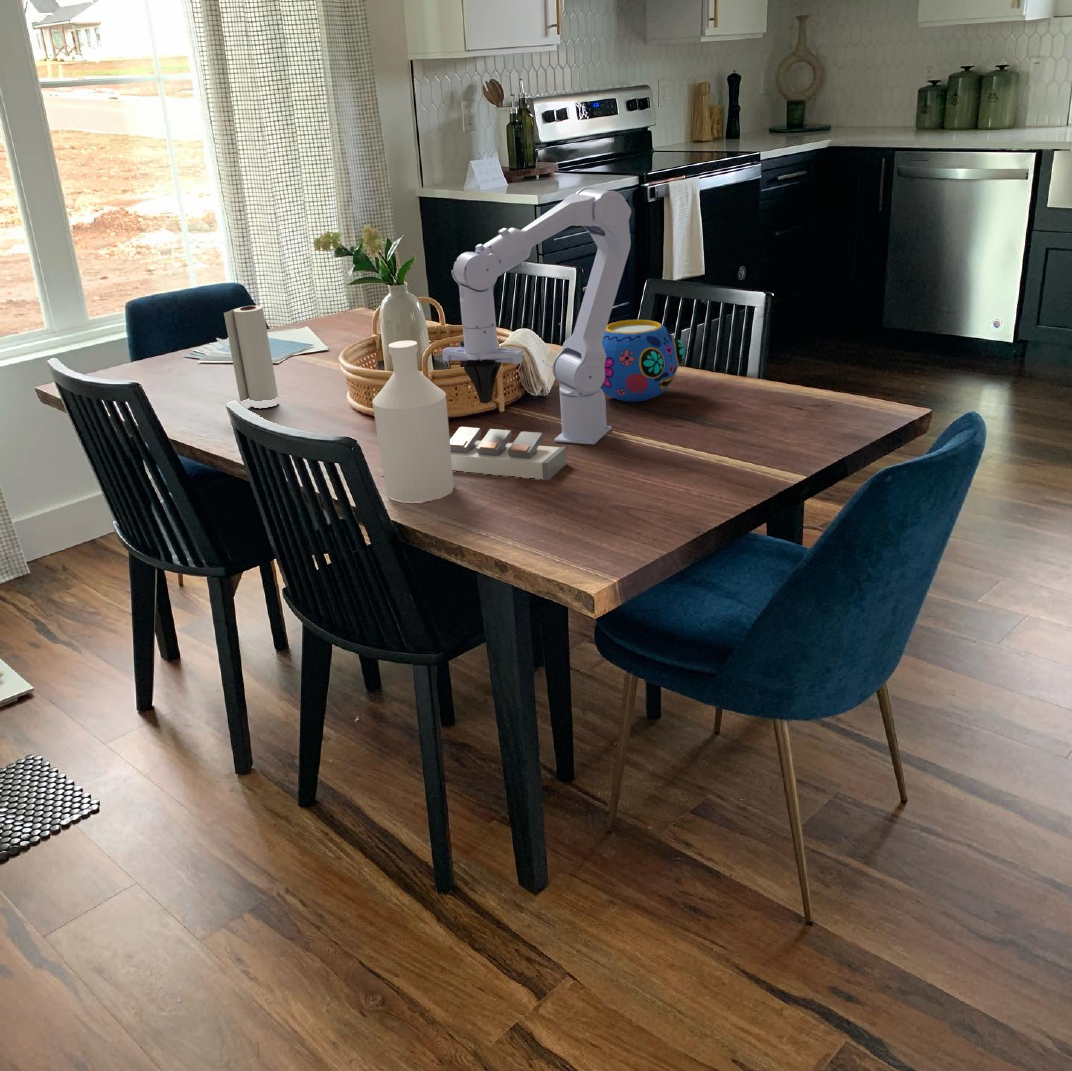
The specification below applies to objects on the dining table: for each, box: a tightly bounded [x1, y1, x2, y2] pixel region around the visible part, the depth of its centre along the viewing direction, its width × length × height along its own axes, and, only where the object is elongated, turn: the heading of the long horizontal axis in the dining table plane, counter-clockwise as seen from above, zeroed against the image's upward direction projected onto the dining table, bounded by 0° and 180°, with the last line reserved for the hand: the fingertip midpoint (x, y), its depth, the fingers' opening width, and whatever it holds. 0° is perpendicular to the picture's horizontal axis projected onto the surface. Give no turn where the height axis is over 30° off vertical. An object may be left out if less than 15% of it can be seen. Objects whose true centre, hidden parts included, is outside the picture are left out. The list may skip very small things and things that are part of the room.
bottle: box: [371, 340, 455, 502], centre depth 174 cm, size 12×12×25 cm
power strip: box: [449, 437, 568, 481], centre depth 188 cm, size 8×29×4 cm, turn 66°
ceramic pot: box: [600, 319, 686, 403], centre depth 215 cm, size 18×18×15 cm
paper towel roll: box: [223, 305, 279, 402], centre depth 227 cm, size 7×6×21 cm
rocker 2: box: [476, 428, 513, 456], centre depth 185 cm, size 6×4×1 cm, turn 156°
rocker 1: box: [450, 426, 482, 453], centre depth 188 cm, size 6×4×1 cm, turn 156°
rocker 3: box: [508, 431, 544, 458], centre depth 183 cm, size 6×4×1 cm, turn 156°
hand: (486, 401), depth 188 cm, fingers closed
